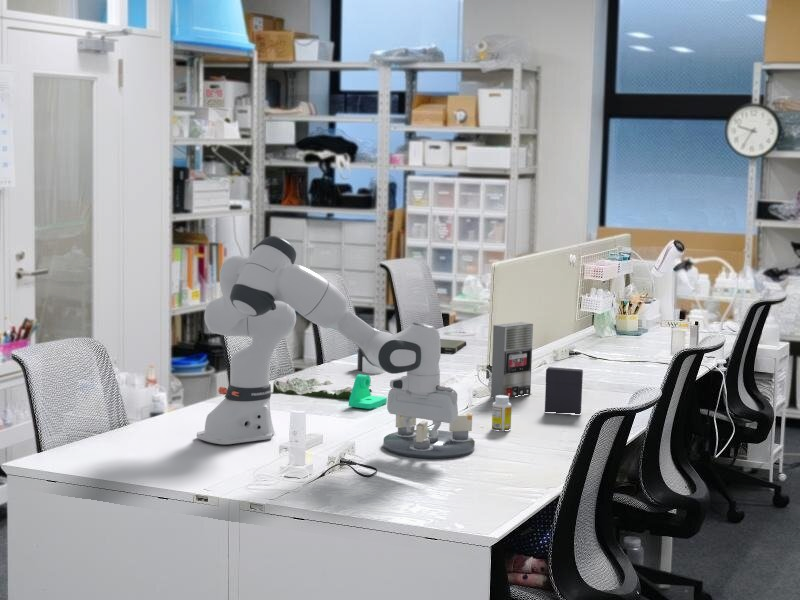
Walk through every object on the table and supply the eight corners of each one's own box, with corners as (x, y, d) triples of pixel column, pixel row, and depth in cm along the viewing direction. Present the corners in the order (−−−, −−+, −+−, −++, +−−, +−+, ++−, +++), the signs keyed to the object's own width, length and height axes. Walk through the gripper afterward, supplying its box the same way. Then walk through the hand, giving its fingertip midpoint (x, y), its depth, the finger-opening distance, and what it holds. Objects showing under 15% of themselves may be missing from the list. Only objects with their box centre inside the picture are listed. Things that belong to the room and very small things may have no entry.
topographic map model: (318, 377, 424) (319, 363, 423) (394, 385, 413) (394, 371, 413) (272, 395, 391) (273, 380, 390) (354, 404, 380) (354, 388, 380)
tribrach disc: (431, 464, 306) (431, 444, 305) (364, 446, 323) (364, 427, 322) (493, 448, 323) (493, 430, 323) (426, 432, 341) (427, 415, 340)
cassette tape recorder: (503, 403, 384) (506, 327, 381) (490, 400, 389) (492, 325, 386) (532, 398, 393) (535, 324, 390) (518, 395, 398) (521, 321, 395)
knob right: (452, 440, 322) (453, 417, 322) (447, 436, 327) (448, 413, 326) (473, 439, 324) (473, 416, 323) (468, 435, 328) (468, 413, 327)
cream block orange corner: (408, 430, 333) (409, 408, 332) (418, 433, 329) (419, 411, 329) (392, 433, 329) (392, 410, 328) (402, 436, 326) (402, 413, 325)
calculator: (581, 416, 367) (583, 369, 365) (579, 419, 363) (581, 371, 361) (546, 413, 370) (548, 366, 368) (544, 416, 366) (546, 368, 364)
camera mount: (369, 412, 366) (370, 379, 365) (348, 409, 370) (349, 377, 368) (387, 405, 377) (388, 374, 376) (366, 402, 380) (367, 371, 379)
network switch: (402, 357, 469) (402, 345, 468) (411, 348, 492) (411, 336, 491) (460, 360, 465) (460, 348, 464) (467, 351, 488) (467, 339, 487)
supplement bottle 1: (378, 372, 433) (379, 340, 432) (372, 375, 427) (372, 342, 425) (361, 370, 435) (361, 338, 434) (354, 373, 429) (355, 341, 428)
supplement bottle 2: (509, 428, 348) (511, 394, 347) (511, 433, 342) (512, 398, 341) (490, 428, 348) (492, 394, 347) (492, 432, 342) (493, 398, 341)
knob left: (416, 443, 318) (416, 420, 317) (432, 444, 317) (432, 421, 316) (410, 448, 312) (411, 425, 311) (426, 450, 311) (427, 426, 310)
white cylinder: (383, 375, 423) (384, 342, 422) (359, 374, 425) (360, 341, 424) (389, 371, 432) (389, 339, 430) (365, 370, 434) (366, 337, 432)
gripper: (463, 386, 309) (461, 438, 311) (397, 377, 320) (395, 427, 322) (451, 390, 304) (449, 442, 306) (384, 380, 315) (383, 431, 316)
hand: (421, 434), depth 314 cm, fingers open, 5 cm apart
